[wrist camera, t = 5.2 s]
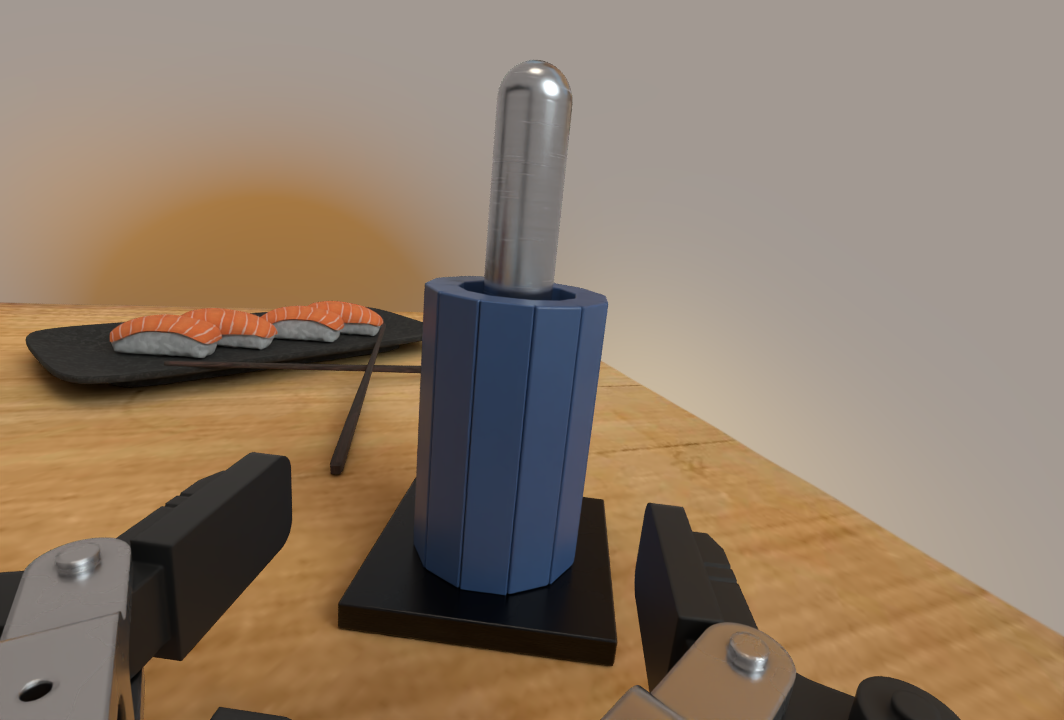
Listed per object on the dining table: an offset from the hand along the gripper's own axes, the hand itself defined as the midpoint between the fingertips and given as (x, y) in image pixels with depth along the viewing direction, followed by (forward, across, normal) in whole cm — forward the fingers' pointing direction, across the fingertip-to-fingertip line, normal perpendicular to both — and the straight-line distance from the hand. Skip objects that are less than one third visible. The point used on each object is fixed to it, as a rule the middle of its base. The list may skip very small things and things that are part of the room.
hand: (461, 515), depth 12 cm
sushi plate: (+28, +17, +7) cm, 33 cm away
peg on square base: (+8, 0, +7) cm, 11 cm away
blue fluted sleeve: (+8, 0, +6) cm, 10 cm away
